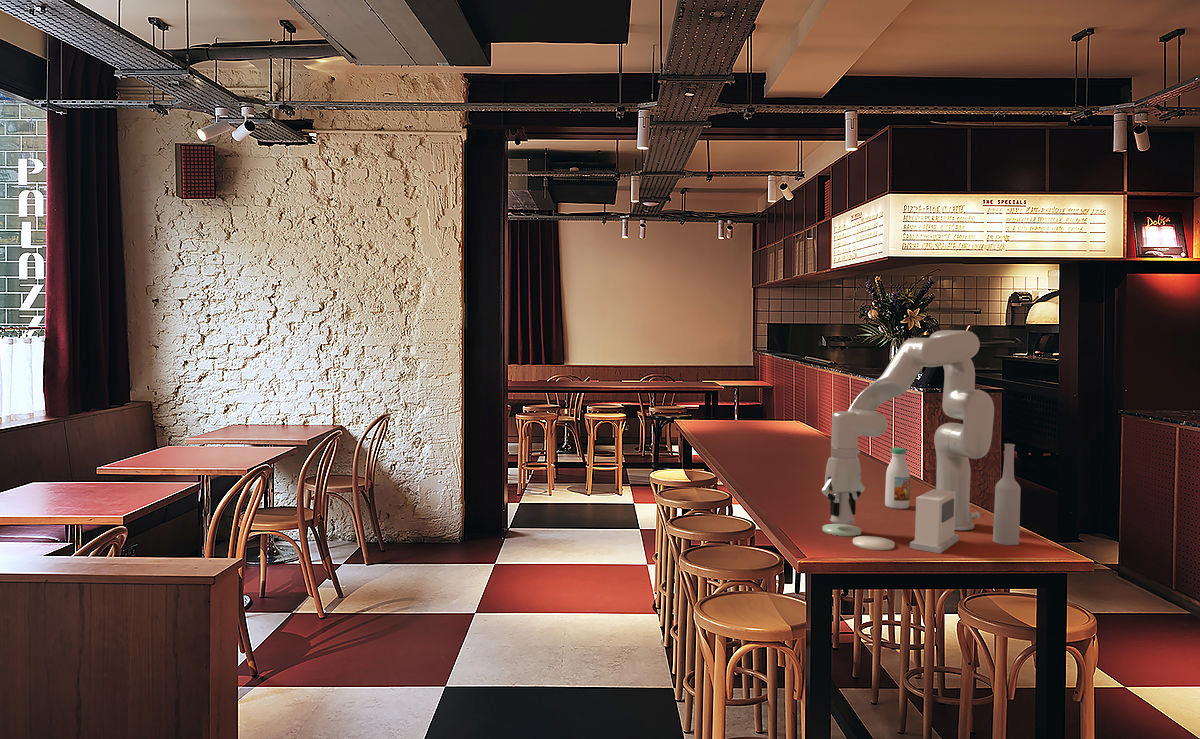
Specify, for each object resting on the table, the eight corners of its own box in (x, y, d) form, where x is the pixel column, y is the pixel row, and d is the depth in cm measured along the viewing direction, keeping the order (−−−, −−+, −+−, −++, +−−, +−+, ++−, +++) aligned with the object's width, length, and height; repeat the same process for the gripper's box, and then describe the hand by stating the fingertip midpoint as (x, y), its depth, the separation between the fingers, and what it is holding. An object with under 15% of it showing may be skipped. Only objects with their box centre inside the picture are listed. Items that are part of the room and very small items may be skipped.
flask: (856, 525, 233) (857, 491, 232) (830, 524, 234) (831, 490, 234) (853, 520, 240) (854, 486, 239) (828, 518, 241) (829, 485, 241)
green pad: (844, 525, 244) (845, 522, 244) (869, 534, 234) (869, 531, 234) (814, 528, 240) (814, 525, 240) (838, 537, 230) (838, 534, 230)
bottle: (1007, 546, 223) (1011, 446, 221) (987, 540, 229) (991, 443, 227) (1024, 544, 225) (1028, 445, 224) (1004, 538, 231) (1007, 442, 230)
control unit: (909, 548, 220) (911, 497, 219) (929, 535, 234) (931, 487, 233) (940, 553, 215) (941, 501, 214) (958, 540, 229) (960, 491, 228)
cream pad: (875, 538, 230) (876, 534, 230) (903, 548, 220) (903, 544, 220) (844, 541, 226) (844, 537, 226) (870, 551, 216) (870, 548, 216)
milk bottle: (884, 508, 270) (886, 449, 269) (885, 503, 277) (887, 446, 276) (908, 510, 267) (910, 450, 266) (909, 505, 274) (911, 447, 273)
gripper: (859, 450, 242) (857, 509, 243) (812, 453, 236) (810, 514, 237) (876, 453, 235) (874, 515, 236) (828, 456, 229) (826, 519, 230)
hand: (842, 513), depth 237 cm, fingers closed on flask, 5 cm apart
